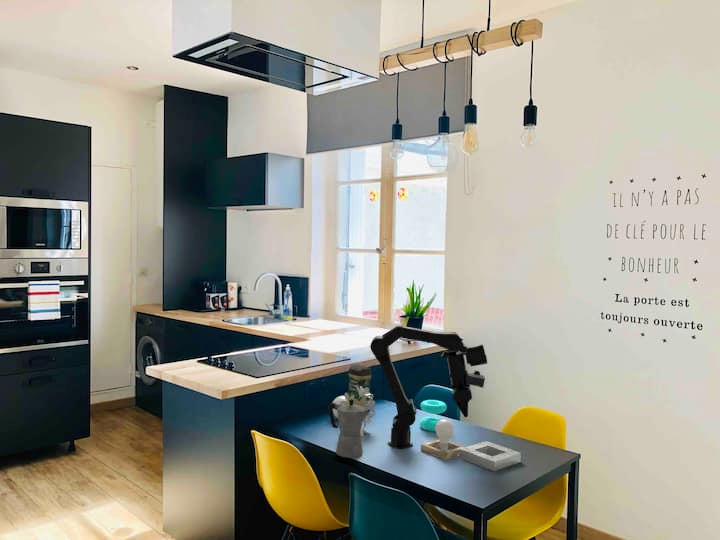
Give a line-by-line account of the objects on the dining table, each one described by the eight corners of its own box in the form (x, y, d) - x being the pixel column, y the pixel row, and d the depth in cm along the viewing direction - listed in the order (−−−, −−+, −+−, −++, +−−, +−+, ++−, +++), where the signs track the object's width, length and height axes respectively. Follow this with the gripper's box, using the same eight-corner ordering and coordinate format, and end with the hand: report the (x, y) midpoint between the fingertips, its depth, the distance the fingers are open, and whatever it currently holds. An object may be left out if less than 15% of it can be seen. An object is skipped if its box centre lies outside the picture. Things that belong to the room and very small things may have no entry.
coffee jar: (343, 407, 249) (345, 364, 249) (357, 404, 255) (359, 362, 254) (359, 413, 242) (360, 368, 242) (373, 410, 248) (374, 366, 247)
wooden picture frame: (445, 459, 193) (445, 453, 193) (420, 450, 201) (420, 444, 201) (466, 453, 200) (467, 447, 200) (442, 443, 208) (442, 438, 208)
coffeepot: (373, 452, 197) (375, 399, 196) (360, 461, 188) (362, 405, 188) (333, 443, 204) (335, 392, 203) (319, 451, 196) (321, 398, 195)
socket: (494, 471, 185) (494, 461, 184) (459, 457, 195) (459, 448, 195) (520, 461, 194) (520, 452, 193) (486, 449, 204) (486, 441, 204)
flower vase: (331, 436, 232) (354, 440, 210) (321, 390, 235) (342, 389, 212) (361, 427, 238) (386, 430, 215) (350, 382, 240) (374, 380, 217)
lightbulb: (452, 455, 197) (454, 423, 196) (433, 453, 198) (435, 421, 198) (453, 449, 203) (454, 417, 203) (435, 447, 204) (436, 416, 204)
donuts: (418, 404, 222) (422, 398, 232) (417, 430, 223) (421, 423, 232) (445, 407, 220) (448, 400, 229) (444, 433, 220) (446, 425, 230)
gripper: (483, 370, 192) (491, 417, 192) (479, 359, 211) (486, 402, 211) (449, 376, 194) (457, 422, 194) (448, 364, 212) (455, 406, 212)
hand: (465, 413), depth 203 cm, fingers open, 9 cm apart
